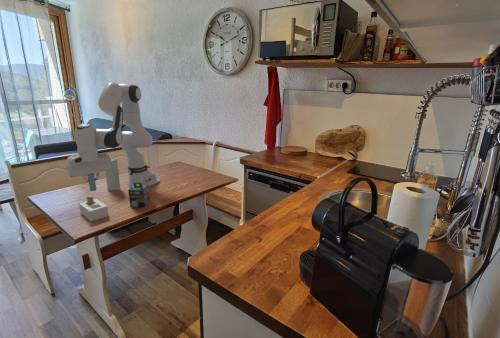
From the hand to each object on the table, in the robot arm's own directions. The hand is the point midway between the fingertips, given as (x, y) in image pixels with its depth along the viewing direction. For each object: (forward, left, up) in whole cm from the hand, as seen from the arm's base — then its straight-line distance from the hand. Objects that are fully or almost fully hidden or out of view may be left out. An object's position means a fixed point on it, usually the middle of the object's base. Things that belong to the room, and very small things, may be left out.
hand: (91, 181), depth 141 cm
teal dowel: (0, 0, -5) cm, 5 cm away
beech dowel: (0, -7, -21) cm, 22 cm away
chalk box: (-24, +3, -21) cm, 32 cm away
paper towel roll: (-24, -32, -21) cm, 45 cm away
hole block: (0, -3, -21) cm, 21 cm away
